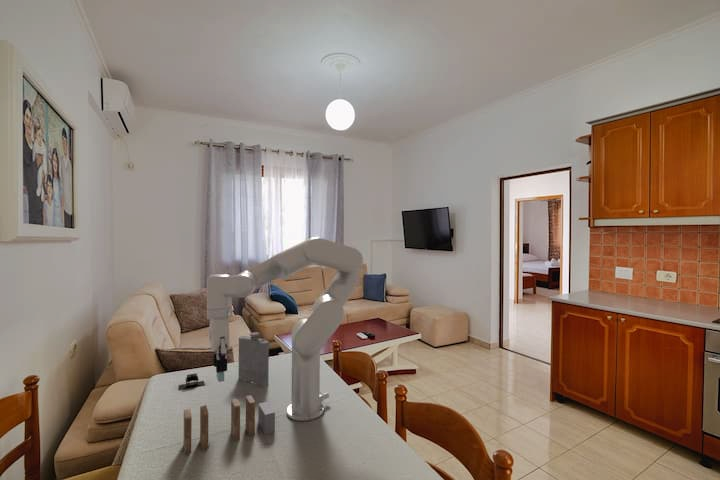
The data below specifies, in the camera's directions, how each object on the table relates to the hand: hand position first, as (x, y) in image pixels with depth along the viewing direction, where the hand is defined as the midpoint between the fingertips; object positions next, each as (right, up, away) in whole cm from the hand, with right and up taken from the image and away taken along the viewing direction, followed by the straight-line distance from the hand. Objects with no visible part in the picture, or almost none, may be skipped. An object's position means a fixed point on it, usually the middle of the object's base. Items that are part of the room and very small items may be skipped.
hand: (220, 368), depth 110 cm
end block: (+16, -17, -3) cm, 24 cm away
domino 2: (0, -17, -13) cm, 21 cm away
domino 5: (+12, -17, -6) cm, 22 cm away
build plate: (-22, -18, +26) cm, 39 cm away
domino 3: (0, -4, 0) cm, 4 cm away
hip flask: (+1, -17, +31) cm, 35 cm away
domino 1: (-3, -17, -15) cm, 23 cm away
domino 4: (+8, -17, -8) cm, 21 cm away
